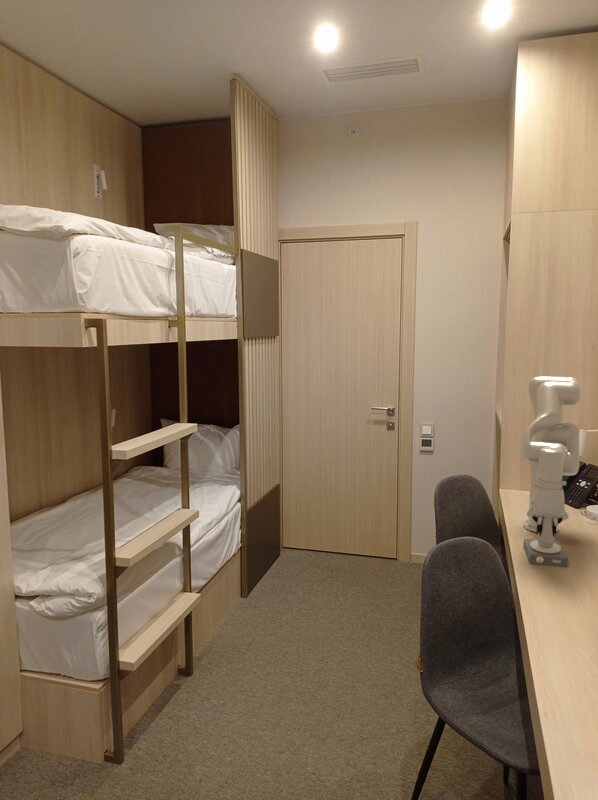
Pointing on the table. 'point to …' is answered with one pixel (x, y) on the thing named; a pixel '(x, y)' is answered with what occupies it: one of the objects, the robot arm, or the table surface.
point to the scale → (545, 553)
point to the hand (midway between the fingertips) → (546, 534)
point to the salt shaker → (546, 533)
